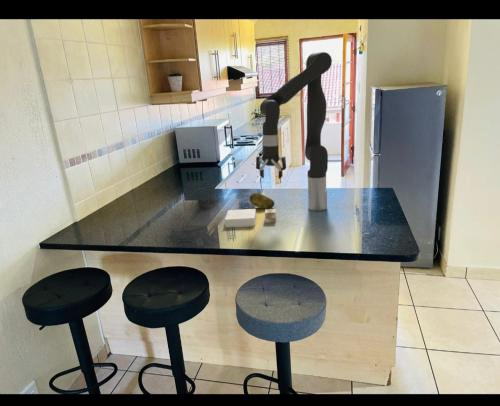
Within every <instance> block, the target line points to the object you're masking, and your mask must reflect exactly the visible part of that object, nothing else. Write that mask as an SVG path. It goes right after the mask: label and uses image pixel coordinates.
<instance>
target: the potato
mask: <svg viewBox="0 0 500 406" xmlns="http://www.w3.org/2000/svg"><path fill="white" fill-rule="evenodd" d="M249 202H250V203H251V204H252V205H253V206H254V207H257V208H258V209H261V210H265V209H273V207H274V206H275V201H274V200H273V199H272V198H270V197H269V196H266V195H264V194H262V193H259V192H253V193H252V194H251V195H249Z"/></svg>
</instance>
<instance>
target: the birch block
mask: <svg viewBox="0 0 500 406" xmlns="http://www.w3.org/2000/svg"><path fill="white" fill-rule="evenodd" d="M264 210H265V211H264V215H265V219H264V220H265V223H276V222H277V215H276V214H277V213H276V211H277V210H276V208H268V209H264Z"/></svg>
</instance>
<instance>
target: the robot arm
mask: <svg viewBox="0 0 500 406" xmlns="http://www.w3.org/2000/svg"><path fill="white" fill-rule="evenodd" d="M332 62H333V61H332V56H331V54H329V53H328V52H325V51H318V52H312V53H310V54H309V55H308V57H307V59H306V60H305V69H304V70H302V71H301V72H300V73H298V74H296V75H295V76H294V77H292V78H290V79H289V80H287V82H285V83H284V84H283V85H282V86H281V87H279V89H278V90H277V91H275V92H274V93H272V94H270V95H269V96H268V97H266V98H265V99H264V100H262V102H261V103H260V105H259V111H260V113H261V114H262V115H263V116H265V117H264V119H265V120H264V122H263V123H262V140H261V141H262V142H261V145H262V156H260V155H257V156H256V157H255V169H256V170H259V176H260V178H261V179H264V178H265V168H266V167H275V168H276V169H277V170H278V180H280V179H281V178H283V171H284V170H286V169H287V161H286V159H287V158H286V156H280V155H279V154H280V150H279V130H278V129H279V128H278V127H279V121H280V120H279V119H280V114H281V107H280V106H282V105H286V104H287V103H289V101H291V100H292V99H293V98H294V97H295V96H296V95H298V93H299V92H300V91H302V90H303V89H304V88H305V87H306V86H307V89H306V91H307V93H306V97H307V98H306V139H305V146H304V154H305V155H304V156H305V158H306V159H307V160H308V161H309V169H308V170H307V198H308V205H307V206H308V207H307V208H308V210H310V211H313V212H321V211H324V210H328V191H327V172H328V165H329V162H328V161H329V153H328V149H327V148H326V147H325V146H324V145H322V143H321V142H322V141H321V140H322V138H321V137H322V130H323V126H324V124H325V122H326V118H327V99H326V95H325V93H324V90H323V87H322V86H323V85H322V75H323V74H325V73H326V72H328V71H329V70H330V69H331V67H332ZM261 161H263V164H261ZM279 161H280V162H281V164H280V163H279ZM281 165H282V166H281Z"/></svg>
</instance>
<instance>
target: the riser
mask: <svg viewBox="0 0 500 406" xmlns="http://www.w3.org/2000/svg"><path fill="white" fill-rule="evenodd" d="M256 220H257V209H256V208H248V209H228V210H227V213H226V216H225V218H224V224H225V228H238V227H239V228H240V227H242V228H244V227H256Z"/></svg>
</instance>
